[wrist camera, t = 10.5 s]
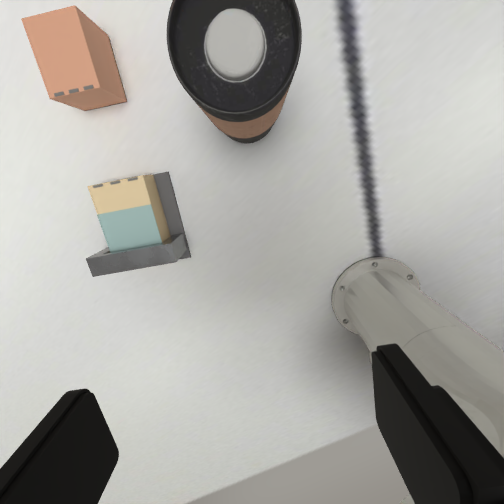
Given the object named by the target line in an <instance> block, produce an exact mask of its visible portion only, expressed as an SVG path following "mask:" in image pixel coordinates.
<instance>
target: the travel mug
mask: <svg viewBox="0 0 504 504" xmlns="http://www.w3.org/2000/svg"><path fill="white" fill-rule="evenodd" d="M167 45H168V52H169V56H170V60H171V63H172V66H173V69H174V71H175V73H176V76H177V78H178V80H179V81H180V83H181V84H182V86H183V88H184V89H185V90H186V91H187V93H188V94H189V95H190V96H191V98H192V99H193V100H194V101H195V102H196V103H197V105H198V106H199V107H200V108H201V109H202V110H203V112H204V113H205V114H206V115H207V116H208V118H209V119H210V120H211V121H212V122H213V123H214V125H215V126H216V127H217V128H218V129H219V130H221V131H222V132H223V133H225V134H226V135H227V136H228V137H230V138H231V139H233V140H235V141H237V142H240V143H253V142H256V141H258V140H260V139H262V138H263V137H264V136H265V135H266V134H267V133H268V132H269V131H270V129H271V128H272V126H273V124H274V123H275V121H276V120H277V118H278V116H279V114H280V112H281V109H282V106H283V103H284V101H285V98H286V95H287V92H288V90H289V87H290V84H291V82H292V79H293V76H294V73H295V71H296V68H297V65H298V61H299V57H300V51H301V22H300V17H299V12H298V9H297V6H296V3H295V0H173V2H172V5H171V7H170V11H169V16H168V22H167Z"/></svg>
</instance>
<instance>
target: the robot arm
mask: <svg viewBox="0 0 504 504" xmlns="http://www.w3.org/2000/svg"><path fill="white" fill-rule="evenodd" d="M373 262H374V263H373ZM372 263H373V264H372ZM340 286H342V287H340ZM332 306H333V311H334V313H335V315H336V317H337V319H338V320H339V322H340V323H341V324H342V325H343V326H344V327H345V328H346V329H347V330H349V331H350V332H352V333H355V334H357V335H360V336H361V338H362V339H363V341H364V342H365V344H366V345H367V347H368V349H369V358H370V363H371V364H372V370H373V384H374V398H375V411H376V420H377V423H378V427H379V429H380V431H381V433H382V436H383V438H384V440H385V442H386V444H387V446H388V448H389V450H390V452H391V455H392V457H393V459H394V461H395V463H396V465H397V467H398V469H399V471H400V474H401V476H402V478H403V480H404V482H405V484H406V486H407V488H408V490H409V492H410V494H409V495H408V496H407V497H406V498H404V499H403V500H402V501H401V502H400V503H399V504H504V351H503V350H501V349H500V348H499V347H497V346H496V345H494V344H493V343H492V342H490V341H489V340H488V339H486V338H485V337H484V336H482V335H481V334H479V333H478V332H476V331H475V330H473V329H472V328H471V327H469V326H468V325H467V324H465V323H464V322H463V321H461V320H460V319H459V318H457V317H456V316H454V315H453V314H452V313H450V312H449V311H448V310H446V309H445V308H444V307H442V306H441V305H440V304H438V303H437V302H435V301H434V300H433V299H431V298H430V297H429V296H427V295H426V294H425V293H423V292H422V291H420V284H419V282H418V279H417V277H416V276H415V274H414V272H413V271H412V270H411V269H410V268H408V267H407V266H406V265H404V264H403V263H401V262H399V261H397V260H395V259H391V258H387V257H374V258H368V259H365V260H361V261H359V262H357V263H355V264H353V265H352V266H351V267H349V268H348V269H347V270H346V271H345V272H344V273H343V274H342V275H341V276H340V278H339V279H338V281H337V282H336V284H335V287H334V289H333V294H332ZM118 457H119V451H118V448H117V446H116V443H115V441H114V439H113V436H112V434H111V432H110V430H109V427H108V425H107V423H106V421H105V418H104V416H103V414H102V411H101V409H100V407H99V405H98V402H97V400H96V398H95V395H94V394H93V393H91V392H90V391H89V390H88V389H79V390H72V391H68V392H66V393H65V394H64V395H63V396H62V397H61V399H60V400H59V401H58V402H57V403H56V404H55V406H54V407H53V408H52V409H51V410H50V411H49V413H48V414H47V415H46V416H45V417H44V418H43V420H42V421H41V422H40V423H39V424H38V425H37V427H36V428H35V429H34V430H33V431H32V432H31V434H30V435H29V436H28V437H27V438H26V439H25V441H24V442H23V443H22V444H21V445H20V446H19V448H18V449H17V450H16V451H15V452H14V453H13V455H12V456H11V457H10V458H9V459H8V460H7V462H6V463H5V464H4V465H3V466H2V468H1V469H0V504H98V502H99V500H100V498H101V495H102V493H103V491H104V489H105V487H106V485H107V483H108V481H109V479H110V477H111V474H112V472H113V470H114V468H115V466H116V464H117V461H118Z"/></svg>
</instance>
